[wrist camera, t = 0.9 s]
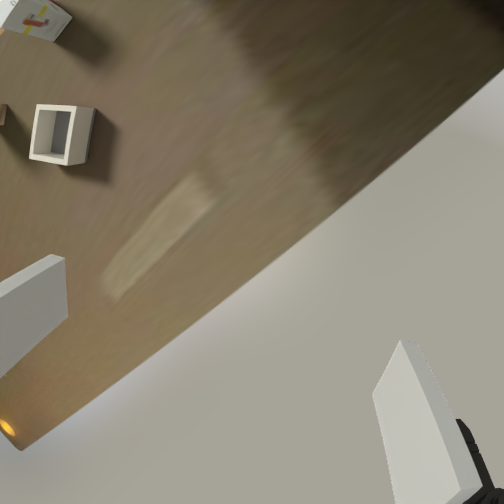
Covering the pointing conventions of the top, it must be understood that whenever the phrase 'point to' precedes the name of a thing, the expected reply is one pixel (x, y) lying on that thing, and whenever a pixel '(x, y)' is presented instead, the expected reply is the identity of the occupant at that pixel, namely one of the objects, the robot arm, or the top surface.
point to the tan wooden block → (2, 113)
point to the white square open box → (62, 134)
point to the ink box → (34, 18)
